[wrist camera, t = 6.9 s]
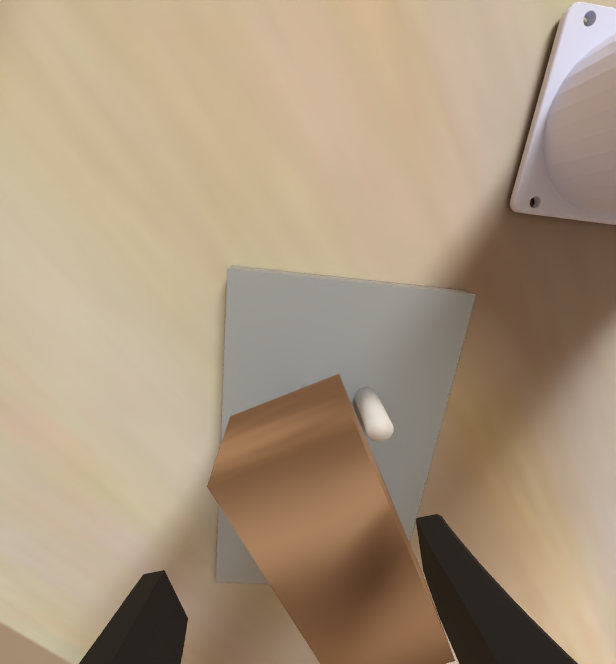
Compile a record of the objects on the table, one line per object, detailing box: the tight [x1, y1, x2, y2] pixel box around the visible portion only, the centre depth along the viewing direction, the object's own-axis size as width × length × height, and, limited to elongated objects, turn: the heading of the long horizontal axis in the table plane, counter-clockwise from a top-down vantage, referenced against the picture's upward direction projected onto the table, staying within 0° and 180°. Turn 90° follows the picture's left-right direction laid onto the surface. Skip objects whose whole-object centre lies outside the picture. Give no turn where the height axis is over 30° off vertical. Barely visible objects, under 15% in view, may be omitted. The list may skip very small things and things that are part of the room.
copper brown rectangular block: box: [207, 374, 455, 664], centre depth 14 cm, size 12×5×4 cm, turn 22°
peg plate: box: [216, 266, 476, 584], centre depth 18 cm, size 12×20×4 cm, turn 174°
